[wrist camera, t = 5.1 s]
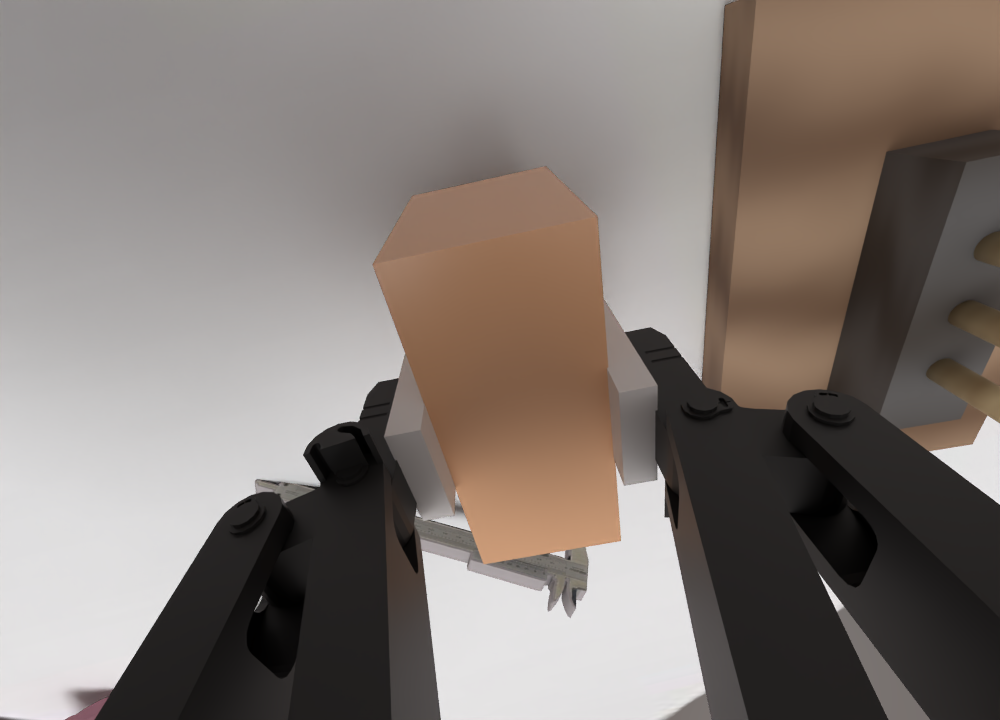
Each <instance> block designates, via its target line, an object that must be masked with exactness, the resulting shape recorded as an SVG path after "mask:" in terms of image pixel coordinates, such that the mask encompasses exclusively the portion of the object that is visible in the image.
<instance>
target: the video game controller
mask: <svg viewBox="0 0 1000 720" xmlns="http://www.w3.org/2000/svg"><path fill="white" fill-rule="evenodd" d="M107 699H108V697H106V698H104V699H102V700H100V701H98V702H96V703H94V704H92V705H91V706H89V707H87V708H85V709H84V710H82V711H81V712H79V713H78V714H76V715H73V716H71V717H69V718H67V719H65V720H95V718H96V716H97V715H98V713H99V712H100V710H101V708H102V707H103V705H104V704H105V702H106V700H107Z"/></svg>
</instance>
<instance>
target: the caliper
mask: <svg viewBox="0 0 1000 720" xmlns="http://www.w3.org/2000/svg"><path fill="white" fill-rule="evenodd" d="M255 487H256V494H257V493H260V492H274V493H276V494H278V495H279V496H280V497H281V498H282V499H283V501H284V502H285V503H286V502H288V501H290V500H292V499H295V498H297V497H299V496H302V495H304V494H306V493H309V492H311V491H313V490H315V489H317V488H314V487H310V486H306V485H298V484H290V483H282V482H280V483H279V484H278V485H276V484H273V483H270V482H266V481H262V480H256V481H255ZM414 525H415V527H416V529H417V531H418V533H419V536H420V541H421V549H422V551H426V552H429V553H433V554H437V555H440V556H444V557H447V558H451V559H455V560H458V561H462V562H465V563H468V565H467V569H468V570H469V571H473V572H476V573H480V574H483V575H486V576H490V577H493V578H497V579H500V580H503V581H507V582H510V583H514V584H517V585H520V586H524V587H527V588H530V589H534V590H538V591H542V589H543V587H544V585H548V589H549V590H550V595H549V600H548V611H551V610H552V608H553V607H554V606H555V604H556V603H557V601H558V599H559V597H560V595H561V594H562V602H563V606H564V609H565V611H566V613H567V616H569V617H570V618H571V616H572V614H573V612H574V611H575V609H576V600H580V601H581V600H582V598H583V596H584V595H585V593H586V590H587V576H588V557H587V552H586V548H585V547H582V548H576V549H570V550H566V551H565V558H562V557H559V556H556V555H552V554H550V553H547V554H541V555H536V556H530V557H524V558H518V559H512V560H506V561H501V562H495V563H489V564H483V561H482V559H481V556H480V553H479V551H478V548H477V545H476V542H475V540H474V537H473V534H472V532H471V531H467V530H464V529H460V528H457V527H453V526H449V525H446V524H442V523H438V522H435V521H431V520H426V521H423V520H422V518H420V517H417V516H415V522H414Z"/></svg>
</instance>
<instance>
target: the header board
mask: <svg viewBox="0 0 1000 720" xmlns="http://www.w3.org/2000/svg"><path fill="white" fill-rule="evenodd" d="M702 382H703V384H704V385H705V386H706V387H707V388H710V389H713V390H717V391H720V392H722V393H724V394H726V395H728V396H729V397H731V398H732V399H733V400H734V401H735V402H736V404H737V405H738V406H740V407H744V408H753V409H777V410H785V409H786V405H787V401H788V400H789V399H790V398H791V397H792V396H793V395H794V394H796V393H799V392H802V391H804V390H815V389H822V390H830V391H837V392H840V393H843V394H847V395H850V396H853V397H855V398H856V399H858V400H860V401H862V402H863V403H865V404H867V405H868V406H869V407H871V408H872V409H873V410H875V411H876V412H877V413H879V414H880V415H881V416H883V417H884V418H885V419H887V420H888V421H889V422H891V423H892V424H893V425H895V426H896V427H897V428H899V429H900V430H901V431H903V432H904V433H905V434H907V435H908V436H909V437H910V438H912V439H913V440H914V441H916V442H917V443H918V444H920V445H921V446H922V447H924V448H925V449H926V450H928V451H933V450H939V449H946V448H952V447H958V446H964V445H970V444H973V442H974V440H975V438H976V436H977V434H978V432H979V430H980V428H981V426H982V425H983V423H984V421H985V419H986V417H987V415H988V416H989V417H991V418H992V419H994V420H996V421H997V422H999V423H1000V0H738V1H735V2H732V3H730V4H727V5H725V14H724V31H723V47H722V63H721V80H720V96H719V113H718V129H717V145H716V162H715V178H714V194H713V211H712V227H711V243H710V260H709V276H708V293H707V309H706V325H705V342H704V358H703V374H702Z"/></svg>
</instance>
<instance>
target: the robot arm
mask: <svg viewBox="0 0 1000 720" xmlns="http://www.w3.org/2000/svg"><path fill="white" fill-rule="evenodd" d="M603 300H604V299H603ZM604 314H605V328H606V341H607V355H608V368H607V376H608V389H609V402H610V415H611V428H612V441H613V455H614V460H615V463H616V466H617V468H618V471H619V473H620V476H621V479H622V481H623V484H624V486H625V485H631V484H637V483H642V482H648V481H654V480H657V464H658V466H659V468H660V470H661V472H662V474H663V476H664V478H665V517H670V522H671V527H672V531H673V536H674V541H675V546H676V551H677V556H678V560H679V565H680V570H681V575H682V580H683V584H684V589H685V594H686V599H687V604H688V608H689V613H690V618H691V623H692V628H693V633H694V637H695V642H696V647H697V652H698V657H699V661H700V666H701V671H702V676H703V681H704V686H705V690H706V695H707V700H708V705H709V710H710V714H711V719H712V720H888V718H887V716H886V714H885V712H884V710H883V708H882V706H881V704H880V701H879V699H878V697H877V695H876V693H875V691H874V689H873V687H872V685H871V683H870V680H869V678H868V676H867V674H866V672H865V670H864V668H863V666H862V664H861V662H860V660H859V657H858V655H857V653H856V651H855V649H854V647H853V645H852V643H851V641H850V639H849V636H848V634H847V632H846V631H845V628H844V626H843V624H842V622H841V620H840V618H839V616H838V613H837V611H836V609H835V607H834V605H833V603H832V601H831V599H830V597H829V595H828V592H827V590H826V588H825V586H824V584H823V582H822V580H821V578H820V576H819V574H820V575H821V576H822V578H823V579H824V580H825V582H826V583H827V584H828V586H829V587H830V588H831V590H832V591H833V592H834V594H835V595H836V596H837V597H838V599H839V600H840V601H841V603H842V604H843V605H844V607H845V608H846V609H847V610H848V612H849V613H850V615H851V616H852V617H853V618H854V620H855V621H856V622H857V624H858V625H859V626H860V628H861V629H862V630H863V632H864V633H865V634H866V635H867V637H868V638H869V640H870V641H871V642H872V644H874V646H875V647H876V649H877V650H878V651H879V653H880V654H881V655H882V657H883V658H884V659H885V661H886V662H887V663H888V664H889V666H890V667H891V669H892V670H893V671H894V672H895V674H896V675H897V676H898V678H899V679H900V680H901V682H902V683H903V684H904V686H905V687H906V688H907V689H908V691H909V692H910V693H911V695H912V696H913V697H914V699H915V700H916V701H917V703H918V704H919V705H920V706H921V708H922V709H923V711H924V712H925V713H926V715H927V716H928V717H929V718H930V720H1000V505H999V504H998V503H997V502H995V501H994V500H993V499H991V498H990V497H989V496H987V495H986V494H985V493H983V492H982V491H981V490H979V489H978V488H977V487H975V486H974V485H973V484H971V483H970V482H969V481H967V480H966V479H965V478H963V477H962V476H961V475H960V474H958V473H957V472H956V471H954V470H953V469H952V468H950V467H949V466H948V465H946V464H945V463H944V462H942V461H941V460H940V459H938V458H937V457H936V456H934V455H933V454H932V453H930V452H929V451H928V450H926V449H925V448H924V447H922V446H921V445H920V444H918V443H917V442H916V441H914V440H913V439H912V438H910V437H909V436H908V435H907V434H905V433H904V432H903V431H901V430H900V429H899V428H897V427H896V426H895V425H893V424H892V423H891V422H889V421H888V420H887V419H885V418H884V417H883V416H881V415H880V414H879V413H877V412H876V411H875V410H873V409H872V408H871V407H869V406H868V405H867V404H865V403H863V402H862V401H860V400H858V399H856V398H855V397H853V396H850V395H847V394H843V393H840V392H837V391H830V390H822V389H815V390H804V391H802V392H799V393H796V394H794V395H793V396H792V397H791V398H790V399H789V400H788V401H787V405H786V409H785V410H777V409H753V408H744V407H740V406H738V405H737V404H736V402H735V401H734V400H733V399H732V398H731V397H729V396H728V395H726V394H724V393H722V392H720V391H717V390H713V389H710V388H707V387H706V386H705V385H704V384H703V382H702V381H701V380H700V379H699V377H698V376H697V375H696V373H695V372H694V371H693V370H692V368H691V367H690V366H689V364H688V363H687V362H686V361H685V359H684V358H683V357H681V354H680V353H679V352H678V350H677V349H676V348H674V345H673V344H672V343H671V342H670V340H669V339H668V338H667V336H666V335H664V334H662V333H660V332H658V331H657V330H655V329H653V328H651V327H650V328H645V329H640V330H635V331H630V332H624V331H623V329H622V327H621V326H620V324H619V323H618V321H617V319H616V318H615V316H614V315H613V313H612V311H611V310H610V308H609V307H608V305H607V303H606V302H605V300H604ZM363 409H364V410H362V412H361V415H360V421H358V422H346V423H341V424H337V425H335V426H333V427H330V428H328V429H326V430H325V431H323V432H322V433H320V434H319V435H317V436H316V437H315V438H314V439H313V440H312V441H311V442H310V443H309V444H308V446H307V448H306V450H305V452H304V454H303V456H304V457H305V459H306V460H307V462H308V464H309V465H310V467H311V468H312V470H313V472H314V473H315V475H316V476H317V478H318V480H319V481H320V483H321V485H320V487H319V488H317V489H315V490H313V491H311V492H309V493H306V494H304V495H302V496H299V497H297V498H295V499H292V500H290V501H288V502H286V503H285V502H284V501H283V499H282V498H281V497H280V496H279V495H278V494H276V493H274V492H260V493H257V494H254V495H251V496H249V497H247V498H245V499H243V500H241V501H240V502H238V503H237V504H235V505H234V506H233V507H232V508H230V509H229V510H228V511H227V512H226V513H225V514H224V515H223V517H222V518H221V519H220V520H219V521H218V523H217V524H216V526H215V527H214V529H213V531H212V532H211V534H210V535H209V537H208V539H207V540H206V542H205V543H204V545H203V547H202V548H201V550H200V551H199V553H198V555H197V556H196V558H195V559H194V561H193V563H192V564H191V566H190V567H189V569H188V571H187V572H186V574H185V575H184V577H183V579H182V580H181V582H180V583H179V585H178V587H177V588H176V590H175V591H174V593H173V595H172V596H171V598H170V599H169V601H168V603H167V604H166V606H165V607H164V609H163V611H162V612H161V614H160V615H159V617H158V619H157V620H156V622H155V623H154V625H153V627H152V628H151V630H150V632H149V633H148V635H147V636H146V638H145V640H144V641H143V643H142V644H141V646H140V648H139V649H138V651H137V652H136V654H135V656H134V657H133V659H132V660H131V662H130V664H129V665H128V667H127V668H126V670H125V672H124V673H123V675H122V676H121V678H120V680H119V681H118V683H117V684H116V686H115V688H114V689H113V691H112V692H111V694H110V696H109V697H108V699H107V700H106V702H105V704H104V705H103V707H102V708H101V710H100V712H99V713H98V715H97V716H96V718H95V720H441V718H440V709H439V700H438V691H437V682H436V673H435V664H434V656H433V647H432V638H431V629H430V620H429V611H428V603H427V594H426V585H425V576H424V567H423V558H422V549H421V541H420V536H419V533H418V531H417V529H416V527H415V525H414V522H415V514H416V507H417V509H418V511H419V513H420V515H421V517H422V520H423V521H426V520H432V519H437V518H443V517H449V516H454V514H455V490H456V487H455V484H454V482H453V479H452V476H451V474H450V471H449V468H448V466H447V463H446V460H445V458H444V455H443V452H442V450H441V447H440V444H439V441H438V439H437V436H436V433H435V431H434V428H433V425H432V423H431V420H430V417H429V415H428V412H427V409H426V406H425V404H424V402H423V399H422V397H421V394H420V391H419V389H418V386H417V383H416V381H415V378H414V375H413V372H412V370H411V367H410V364H409V362H408V359H407V356H406V354H405V356H404V360H403V364H402V368H401V372H400V376H399V378H397V379H392V380H387V381H382V382H378V383H377V384H376V386H375V387H374V388H373V389H372V390H371V391H370V392H369V394H368V395H367V398H366V401H365V404H364V407H363ZM817 571H818V572H819V574H818V572H817ZM261 595H262V596H263V597H262V600H261V602H260V604H259V605H258V607H257V608H256V606H257V603H258V601H259V599H260V597H261ZM255 608H256V610H255ZM254 610H255V611H254Z"/></svg>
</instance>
